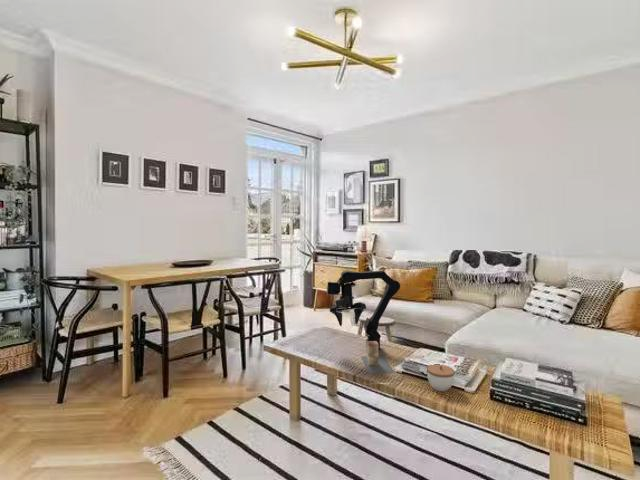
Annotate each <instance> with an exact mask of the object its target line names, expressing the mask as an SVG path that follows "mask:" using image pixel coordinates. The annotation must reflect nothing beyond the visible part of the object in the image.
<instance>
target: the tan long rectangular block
mask: <svg viewBox="0 0 640 480" xmlns="http://www.w3.org/2000/svg"><path fill="white" fill-rule="evenodd" d="M366 356H367V363H368V365H378V356H379V350H378V343H377V341H367V347H366Z"/></svg>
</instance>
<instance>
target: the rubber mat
mask: <svg viewBox="0 0 640 480" xmlns="http://www.w3.org/2000/svg"><path fill="white" fill-rule="evenodd" d="M360 358H361V360H362V362H363V364H364V366H365V369H366V371H367V373H368V374H370V375H371V374H395V373H396V371H395V370H394V368H393V367H392V366H391V364H390V362H389V361H388V359H387V357H386V356H385V355H378V365H368V363H367V355H361V356H360Z"/></svg>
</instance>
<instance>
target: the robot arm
mask: <svg viewBox="0 0 640 480" xmlns="http://www.w3.org/2000/svg"><path fill="white" fill-rule="evenodd" d="M376 279H377V280H378V279H381V280H382V281H383V282H384V283H385V286H384V292H383V295H382V296H381V299H380V301H379V302H378V304H377V305H376V308H375V309H374V312H373V313H372V315H371V316H370V318H369V317H366V319H365V321H364V322H363V329H364V330H363V331H364V332H365V334H366V335H367V336H366V339H365V340H366V341H365V347H366V348H367V341H377V343H378V351H379V350H380V351H381V337H382V335H381V334H380V333H379V331H378V329H379V324H380V321H381V318H382V316H383V314H384V312H385V311H386V309H387V307H388V305H389V303H390V301H391V299H392V298H393V297H394V296H395V295H397V293H398V292H399V290H400V289H401V284H400V282H399V281H397V280H396V279H394V278H392V277H390V276H389V275H388V274H387V273H386V272H385V271H384V270H381V269H380V270H371V271H370V270H367V271H354V270H348V269H347V270H343V271H342V272H341V274H340V277H339V278H338V279H337V281H328V282H327V285H326V296H327V295H328V296H338V295H339V294H340V293H341V294H340V295H341V296H339V299H337V300H335V305H334V306H331V307H330V308H329V313H331V314H333V315H334V316H335V317H336V319H337V321H338V324H339V326H340V327H342V326H343V313H342V312H343V311H348V310H350V311H351V310H353V313H354V322H355V325H358V323H359V320H360V317H361V315H362V314H363V312H365V310H367V306H366V303H363V302H361V301H359V302H354V298H355V297H354V296H353V288H355V286H356V283H355V282H357V281H359V280H376Z"/></svg>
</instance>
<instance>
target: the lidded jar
mask: <svg viewBox="0 0 640 480" xmlns="http://www.w3.org/2000/svg"><path fill="white" fill-rule="evenodd" d="M455 374H456V372H455V369H454V368H452V367H450V366H449V365H445V364H442V365H440V364H434V365H430V366H428V367H427V374H426V375H427V380H428V382H429V385H430V386H431V387H432V388H433V390H435V391H438V392H446V391H449V389H450V388H451V387H452V386H453V384H454V381H455Z"/></svg>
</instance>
